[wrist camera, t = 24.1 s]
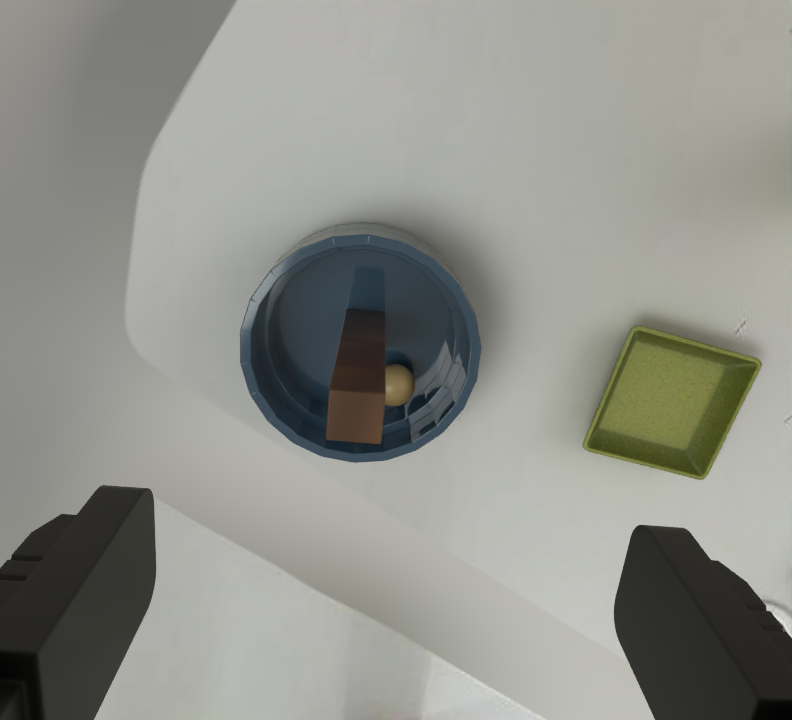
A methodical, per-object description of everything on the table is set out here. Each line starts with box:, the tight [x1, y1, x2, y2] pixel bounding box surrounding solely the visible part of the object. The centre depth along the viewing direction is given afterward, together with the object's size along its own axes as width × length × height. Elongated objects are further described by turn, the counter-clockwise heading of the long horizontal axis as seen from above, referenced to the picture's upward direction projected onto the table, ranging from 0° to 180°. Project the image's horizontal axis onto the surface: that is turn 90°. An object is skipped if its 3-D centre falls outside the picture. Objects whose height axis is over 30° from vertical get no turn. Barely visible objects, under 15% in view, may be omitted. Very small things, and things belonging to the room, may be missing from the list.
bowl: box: [240, 223, 481, 463], centre depth 39 cm, size 13×13×5 cm
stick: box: [326, 309, 386, 444], centre depth 34 cm, size 2×2×13 cm
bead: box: [385, 364, 415, 406], centre depth 40 cm, size 3×3×3 cm
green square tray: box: [583, 326, 762, 480], centre depth 42 cm, size 9×9×2 cm
